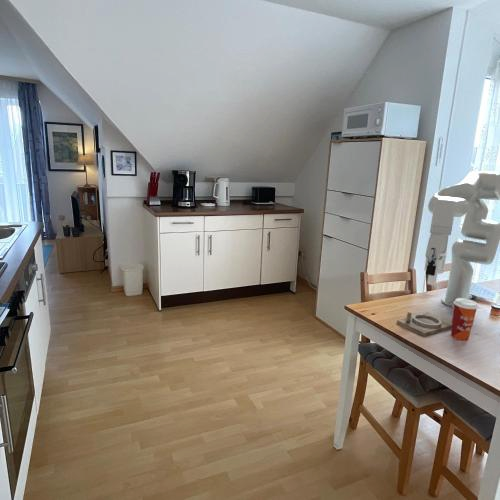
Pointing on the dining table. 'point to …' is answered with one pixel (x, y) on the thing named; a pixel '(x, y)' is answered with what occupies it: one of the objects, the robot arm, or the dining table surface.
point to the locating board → (425, 323)
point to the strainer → (439, 268)
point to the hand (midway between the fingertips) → (433, 272)
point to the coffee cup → (463, 318)
